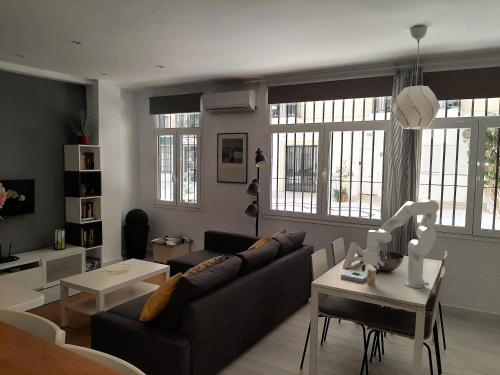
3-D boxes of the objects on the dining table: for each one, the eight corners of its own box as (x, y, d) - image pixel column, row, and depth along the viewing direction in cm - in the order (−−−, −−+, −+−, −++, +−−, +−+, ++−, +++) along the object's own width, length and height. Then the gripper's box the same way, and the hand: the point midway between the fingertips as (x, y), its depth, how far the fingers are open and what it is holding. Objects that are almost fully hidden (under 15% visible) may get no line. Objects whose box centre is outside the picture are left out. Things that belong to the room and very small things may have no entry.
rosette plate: (370, 277, 282) (371, 273, 282) (362, 283, 270) (362, 279, 270) (350, 273, 292) (350, 269, 292) (340, 278, 280) (340, 274, 279)
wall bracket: (361, 282, 323) (347, 267, 304) (356, 281, 326) (342, 266, 307) (369, 258, 331) (356, 242, 312) (364, 257, 334) (351, 241, 315)
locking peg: (374, 283, 269) (375, 269, 269) (372, 285, 266) (373, 270, 266) (369, 282, 272) (369, 268, 271) (367, 283, 269) (367, 269, 268)
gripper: (386, 249, 265) (384, 274, 266) (362, 245, 275) (360, 269, 277) (383, 251, 259) (381, 276, 260) (358, 246, 269) (356, 271, 271)
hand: (370, 272), depth 268 cm, fingers open, 9 cm apart
